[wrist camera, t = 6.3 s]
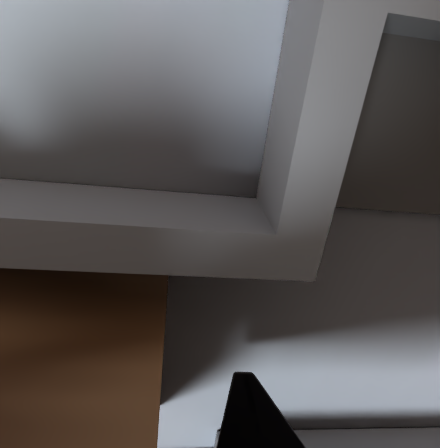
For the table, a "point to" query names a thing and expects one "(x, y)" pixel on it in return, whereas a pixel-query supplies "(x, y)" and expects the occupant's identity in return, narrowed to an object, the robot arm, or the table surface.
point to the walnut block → (80, 358)
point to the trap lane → (274, 173)
